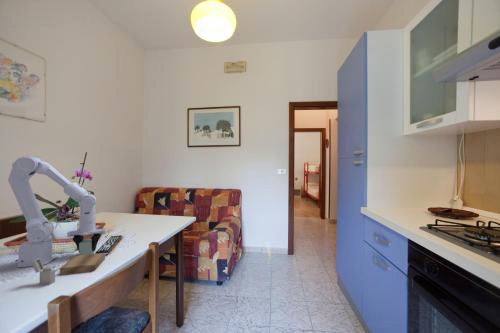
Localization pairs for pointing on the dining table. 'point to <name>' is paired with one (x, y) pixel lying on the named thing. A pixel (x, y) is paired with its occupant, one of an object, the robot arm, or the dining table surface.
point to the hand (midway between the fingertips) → (87, 250)
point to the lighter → (44, 272)
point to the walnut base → (82, 264)
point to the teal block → (85, 247)
